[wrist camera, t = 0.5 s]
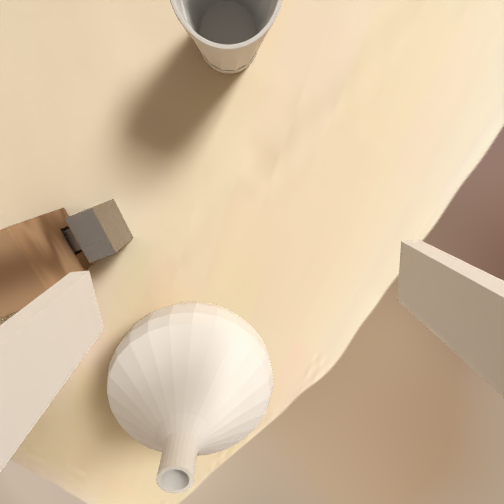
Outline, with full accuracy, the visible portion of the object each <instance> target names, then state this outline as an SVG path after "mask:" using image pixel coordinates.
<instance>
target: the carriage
mask: <svg viewBox="0 0 504 504" xmlns="http://www.w3.org/2000/svg"><path fill="white" fill-rule="evenodd" d="M67 217H69V216H68V214H67V212H66V210H65V209H64V208H62V209H59V210H56V211H53V212H50V213H47V214H44V215H41V216H38V217H35V218H33V219H30V220H27V221H24V222H21V223H18V224H15V225H12V226H9V227H6V228H4V229H1V230H0V318H1V317H4V316H6V315H9V314H11V313H14V312H17V311H19V310H21V309H23V308H24V307H25V306H26V305H28V304H29V303H30V302H32V301H33V300H34V299H36V298H37V297H38V296H40V295H41V294H42V293H44V292H45V291H46V290H48V289H49V288H50V287H52V286H53V285H54V284H56V283H57V282H58V281H60V280H61V279H62V278H64V277H65V276H66V275H67V274H69V273H70V272H78V271H85V270H87V269H88V268H89V267H90V266H92V265H93V264H94V263H95V262H91V263H89V261H88V259H87V258H86V256H85V254H84V252H83V251H82V250H80V251H78V252H75V253H74V252H73V251H72V249H71V247H70V245H69V244H68V242H67V240H66V238H65V237H64V235H63V233H62V232H61V230H60V229H62V228H65V227H67V226H68V224H67V222H66V221H65V218H67Z"/></svg>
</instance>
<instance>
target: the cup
mask: <svg viewBox="0 0 504 504" xmlns="http://www.w3.org/2000/svg"><path fill="white" fill-rule="evenodd" d="M170 2H171V4H172V7H173V10H174V12H175V14H176V16H177V17H178V19H179V21H180V22H181V24H182V25H183V27H184V28H185V29H186V31H187V32H188V34H189V35H190V36H191V38H192V39H193V40H194V42H195V43H196V45H197V47H198V48H199V50H200V52H201V55H202V57H203V58H204V60H205V61H206V63H207V64H208V65H209V66H210V67H212V68H213V69H214V70H216V71H218V72H221V73H225V74H234V73H238V72H240V71H242V70H244V69H246V68H247V67H248V66H249V65H250V64H251V63H252V61H253V60H254V58H255V56H256V54H257V51H258V48H259V47H260V45H261V43H262V41H263V39H264V37H265V36H266V34H267V32H268V31H269V29H270V27H271V26H272V24H273V22H274V21H275V19H276V17H277V15H278V12H279V10H280V7H281V4H282V0H170Z"/></svg>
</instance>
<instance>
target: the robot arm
mask: <svg viewBox="0 0 504 504" xmlns="http://www.w3.org/2000/svg"><path fill="white" fill-rule="evenodd" d="M398 301H399V302H400V303H401V304H403V305H404V306H405V307H406V308H407V309H408V310H409V311H410V312H411V313H412V314H413V315H414V316H416V317H417V318H418V319H419V320H420V321H421V322H422V323H423V324H424V325H425V326H427V327H428V328H429V329H430V330H431V331H432V332H433V333H434V334H435V335H436V336H437V337H438V338H440V339H441V340H442V341H443V342H444V343H445V344H446V345H447V346H448V347H449V348H450V349H451V350H453V351H454V352H455V353H456V354H457V355H458V356H459V357H460V358H461V359H462V360H464V361H465V362H466V363H467V364H468V365H469V366H470V367H471V368H472V369H473V370H474V371H476V372H477V373H478V374H479V375H480V376H481V377H482V378H483V379H484V380H485V381H486V382H487V383H489V384H490V385H491V386H492V387H493V388H494V389H495V390H496V391H497V392H498V393H499V394H501V395H502V396H503V397H504V281H503V280H501V279H499V278H496V277H495V276H493V275H490V274H488V273H486V272H484V271H482V270H480V269H478V268H476V267H474V266H472V265H470V264H468V263H466V262H464V261H462V260H460V259H458V258H456V257H453V256H451V255H449V254H447V253H445V252H443V251H441V250H439V249H437V248H435V247H433V246H431V245H429V244H426V243H425V242H423V241H421V240H410V241H401V253H400V268H399V284H398ZM103 330H104V327H103V323H102V319H101V315H100V311H99V307H98V303H97V299H96V295H95V291H94V287H93V283H92V279H91V275H90V272H89V271H78V272H70V273H69V274H67V275H66V276H65V277H64V278H62V279H61V280H60V281H58V282H57V283H56V284H54V285H53V286H52V287H50V288H49V289H48V290H46V291H45V292H44V293H42V294H41V295H40V296H38V297H37V298H36V299H34V300H33V301H32V302H30V303H29V304H28V305H26V306H25V307H24V308H23V309H21V310H20V311H19V312H17V313H16V314H15V315H13V316H12V317H11V318H9V319H8V320H7V321H5V322H4V323H3V324H1V325H0V472H1V471H2V470H3V469H4V467H5V466H6V464H7V463H8V462H9V460H10V459H11V457H12V456H13V455H14V453H15V452H16V451H17V449H18V448H19V446H20V445H21V444H22V442H23V441H24V439H25V438H26V437H27V435H28V434H29V432H30V431H31V430H32V428H33V427H34V425H35V424H36V423H37V421H38V420H39V419H40V417H41V416H42V414H43V413H44V412H45V410H46V409H47V407H48V406H49V405H50V403H51V402H52V400H53V399H54V398H55V396H56V395H57V393H58V392H59V391H60V389H61V388H62V387H63V385H64V384H65V382H66V381H67V380H68V378H69V377H70V375H71V374H72V373H73V371H74V370H75V368H76V367H77V366H78V364H79V363H80V361H81V360H82V359H83V357H84V356H85V355H86V353H87V352H88V350H89V349H90V348H91V346H92V345H93V343H94V342H95V341H96V339H97V338H98V336H99V335H100V334H101V332H102V331H103Z"/></svg>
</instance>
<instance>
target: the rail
mask: <svg viewBox="0 0 504 504" xmlns="http://www.w3.org/2000/svg"><path fill="white" fill-rule="evenodd" d="M65 221H66V222H67V224H68V226H69V229H66V230H63V231H61V232H62V233H63V235H64V237H65V238H66V240H67V242H68V244H69V245H70V247H71V249H72V251H73V252H76V251H79V250H82V251H83V252H84V254H85V256H86V258H87V259H88V261H89V263H91V262H94V261H96V260H99V259H102V258H104V257H107V256H110V255H112V254H115V253H117V252H118V251H119V250H120V249H121V248H122V247H123V246H125V245H126V244H127V243H128V242H129V241H130V240H131V239H132V238H133V237H132V235H131V233H130V231H129V229H128V227H127V225H126V223H125V221H124V219H123V217H122V215H121V213H120V211H119V209H118V207H117V205H116V203H115V201H114V199H112V200H110V201H107V202H105V203H102V204H100V205H97V206H94V207H92V208H89V209H87V210H84V211H82V212H80V213H77V214H75V215H72V216H70V217H67V218H65Z"/></svg>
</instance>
